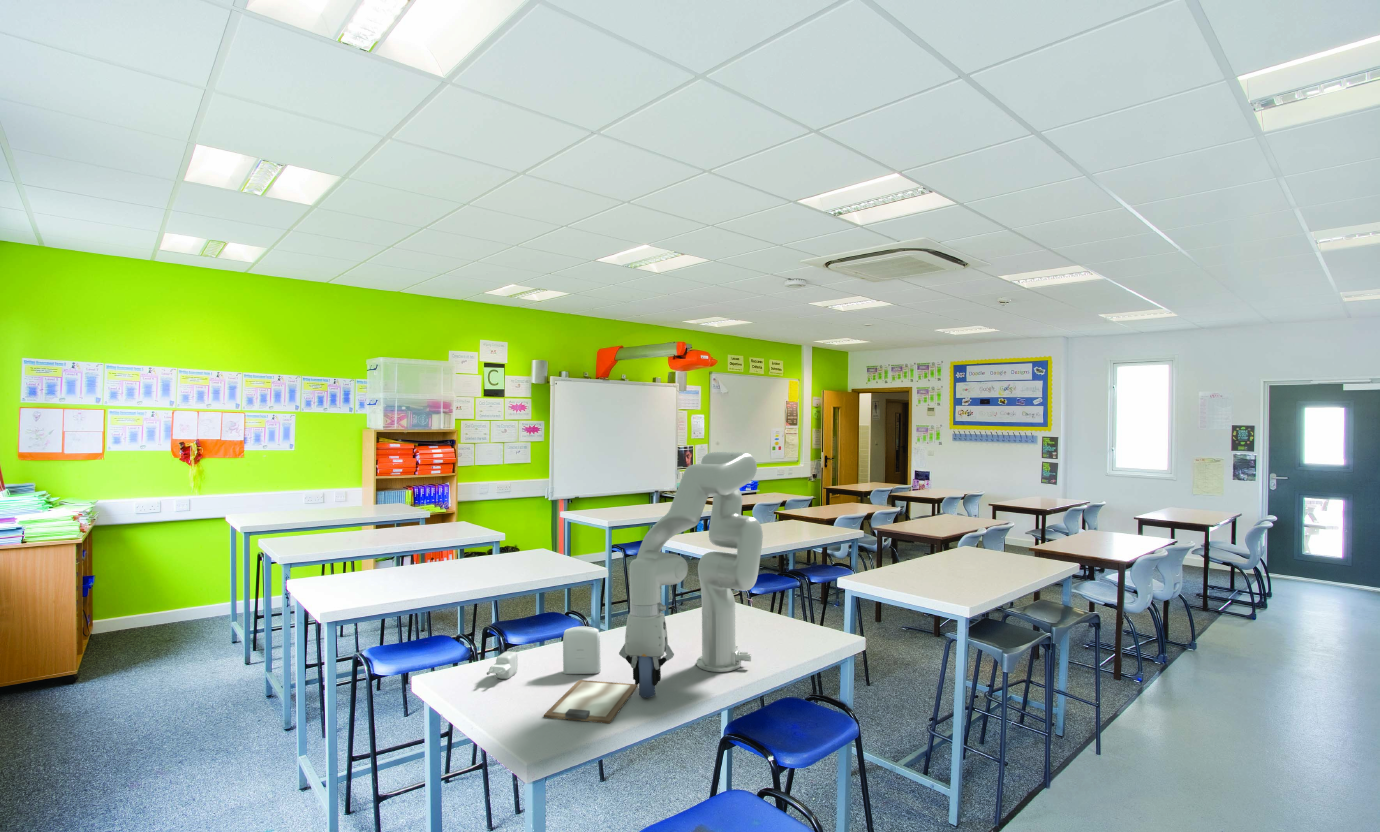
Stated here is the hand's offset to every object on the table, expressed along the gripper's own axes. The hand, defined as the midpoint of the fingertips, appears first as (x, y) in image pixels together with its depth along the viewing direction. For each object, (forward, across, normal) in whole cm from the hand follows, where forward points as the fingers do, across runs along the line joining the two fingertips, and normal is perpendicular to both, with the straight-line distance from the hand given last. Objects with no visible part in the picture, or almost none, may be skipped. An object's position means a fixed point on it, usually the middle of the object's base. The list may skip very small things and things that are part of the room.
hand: (647, 682), depth 162 cm
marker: (+3, 0, 0) cm, 3 cm away
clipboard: (+3, +12, +5) cm, 14 cm away
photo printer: (+4, +22, -13) cm, 26 cm away
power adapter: (+4, +41, -4) cm, 42 cm away
